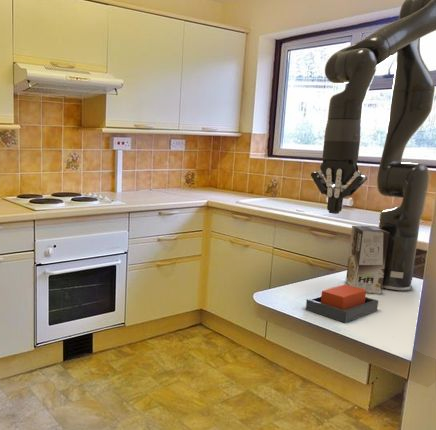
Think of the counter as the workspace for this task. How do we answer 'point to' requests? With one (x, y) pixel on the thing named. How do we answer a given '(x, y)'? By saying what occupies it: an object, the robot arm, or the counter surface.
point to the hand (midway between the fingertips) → (333, 213)
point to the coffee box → (367, 258)
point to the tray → (339, 314)
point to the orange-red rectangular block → (343, 297)
